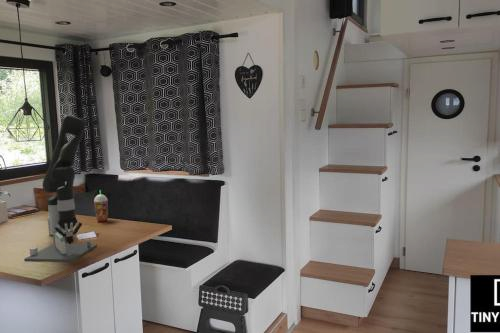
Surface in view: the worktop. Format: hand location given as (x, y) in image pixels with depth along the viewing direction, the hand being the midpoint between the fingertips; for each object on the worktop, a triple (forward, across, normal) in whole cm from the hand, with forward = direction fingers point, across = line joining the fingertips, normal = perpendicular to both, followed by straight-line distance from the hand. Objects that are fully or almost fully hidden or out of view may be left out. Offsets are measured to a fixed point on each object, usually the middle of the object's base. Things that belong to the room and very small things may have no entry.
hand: (70, 243), depth 209 cm
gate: (+4, +4, -4) cm, 7 cm away
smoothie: (+6, -29, -58) cm, 66 cm away
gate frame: (+5, +4, -4) cm, 7 cm away
